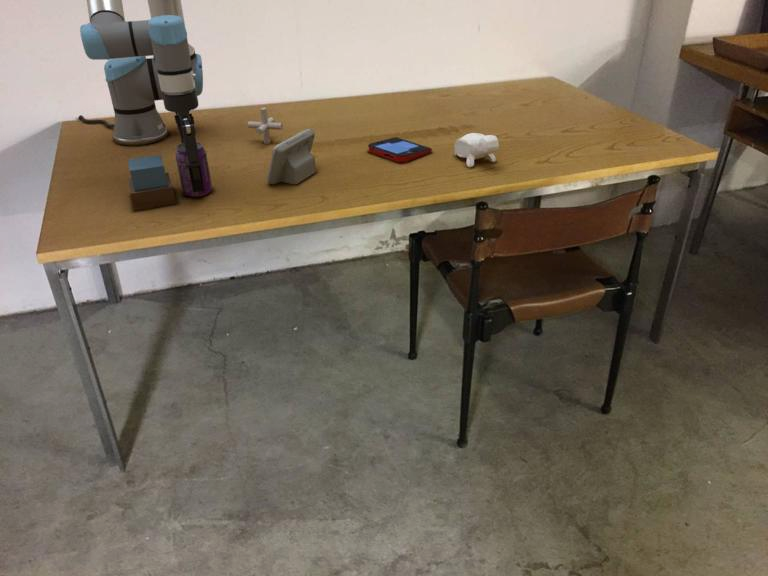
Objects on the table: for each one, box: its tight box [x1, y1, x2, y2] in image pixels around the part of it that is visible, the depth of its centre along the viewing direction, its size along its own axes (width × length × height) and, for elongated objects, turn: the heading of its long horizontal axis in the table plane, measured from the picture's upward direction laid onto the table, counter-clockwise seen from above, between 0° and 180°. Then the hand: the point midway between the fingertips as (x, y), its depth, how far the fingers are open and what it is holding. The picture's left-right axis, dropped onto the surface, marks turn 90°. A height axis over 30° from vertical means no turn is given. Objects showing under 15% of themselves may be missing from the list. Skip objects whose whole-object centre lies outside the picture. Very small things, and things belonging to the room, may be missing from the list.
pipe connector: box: [247, 107, 284, 145], centre depth 183 cm, size 10×10×10 cm
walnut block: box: [127, 171, 177, 212], centre depth 152 cm, size 10×10×4 cm
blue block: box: [127, 154, 168, 191], centre depth 150 cm, size 8×8×5 cm
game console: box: [367, 136, 433, 163], centre depth 177 cm, size 14×13×2 cm
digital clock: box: [266, 128, 317, 186], centre depth 161 cm, size 16×9×11 cm, turn 140°
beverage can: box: [175, 141, 213, 198], centre depth 153 cm, size 7×7×12 cm
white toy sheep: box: [453, 132, 500, 168], centre depth 169 cm, size 9×8×15 cm
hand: (196, 184), depth 156 cm, fingers closed on beverage can, 7 cm apart
